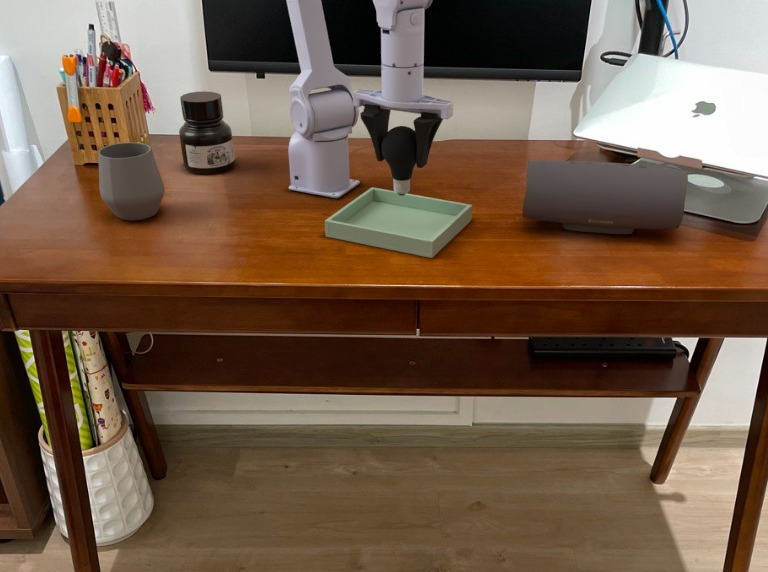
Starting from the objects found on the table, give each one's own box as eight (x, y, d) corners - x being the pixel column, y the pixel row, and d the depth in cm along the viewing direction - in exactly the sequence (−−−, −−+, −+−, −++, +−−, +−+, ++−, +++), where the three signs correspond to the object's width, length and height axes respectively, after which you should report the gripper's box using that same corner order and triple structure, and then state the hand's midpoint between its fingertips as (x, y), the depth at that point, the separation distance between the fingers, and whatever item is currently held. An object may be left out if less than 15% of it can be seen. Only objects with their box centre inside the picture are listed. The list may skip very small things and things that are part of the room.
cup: (129, 199, 133) (117, 137, 127) (179, 207, 131) (169, 144, 125) (92, 221, 126) (77, 156, 120) (144, 230, 123) (132, 163, 118)
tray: (325, 236, 122) (324, 220, 121) (372, 202, 133) (371, 187, 132) (432, 258, 116) (432, 241, 115) (471, 220, 128) (472, 204, 126)
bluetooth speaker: (672, 222, 128) (684, 158, 122) (677, 247, 120) (691, 179, 114) (524, 211, 131) (530, 148, 125) (520, 234, 123) (526, 168, 117)
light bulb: (382, 188, 125) (381, 120, 119) (421, 188, 125) (422, 120, 119) (381, 202, 120) (380, 133, 114) (422, 202, 120) (423, 133, 114)
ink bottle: (190, 178, 141) (179, 106, 134) (175, 163, 148) (164, 93, 141) (244, 169, 145) (237, 99, 138) (228, 155, 152) (220, 87, 145)
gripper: (463, 62, 112) (459, 161, 120) (368, 51, 117) (369, 147, 125) (443, 74, 107) (440, 176, 115) (344, 62, 112) (347, 161, 120)
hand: (402, 162), depth 119 cm, fingers closed on light bulb, 6 cm apart
